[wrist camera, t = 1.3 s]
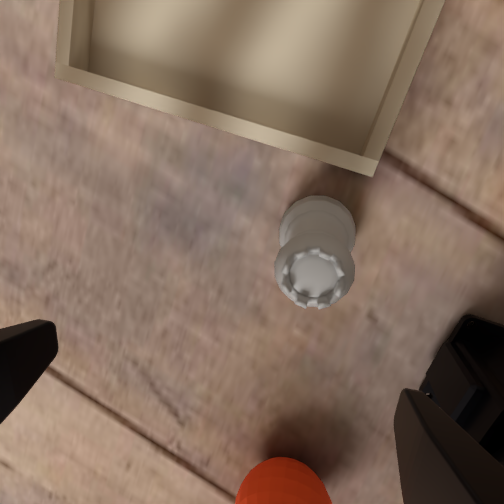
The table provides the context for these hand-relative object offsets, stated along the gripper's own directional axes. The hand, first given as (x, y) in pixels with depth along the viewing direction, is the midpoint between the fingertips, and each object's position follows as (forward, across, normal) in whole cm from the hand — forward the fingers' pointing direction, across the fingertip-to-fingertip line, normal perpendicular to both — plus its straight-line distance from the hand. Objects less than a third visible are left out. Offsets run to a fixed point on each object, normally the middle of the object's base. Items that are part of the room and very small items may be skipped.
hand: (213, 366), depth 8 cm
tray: (+13, +3, -11) cm, 17 cm away
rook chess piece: (+14, -2, 0) cm, 14 cm away
